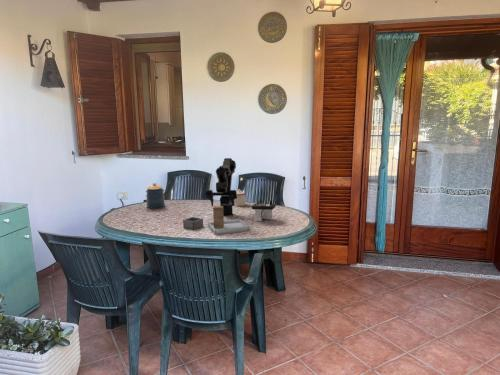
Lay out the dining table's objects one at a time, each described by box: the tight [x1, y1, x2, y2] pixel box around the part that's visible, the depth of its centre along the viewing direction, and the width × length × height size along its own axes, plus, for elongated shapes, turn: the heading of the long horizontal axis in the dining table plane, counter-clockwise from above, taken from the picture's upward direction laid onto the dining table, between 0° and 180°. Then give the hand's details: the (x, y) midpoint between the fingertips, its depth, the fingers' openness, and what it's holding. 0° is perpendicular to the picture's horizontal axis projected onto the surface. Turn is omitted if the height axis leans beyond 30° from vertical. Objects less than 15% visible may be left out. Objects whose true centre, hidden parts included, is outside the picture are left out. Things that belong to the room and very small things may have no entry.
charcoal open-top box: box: [182, 216, 204, 230], centre depth 227 cm, size 8×8×4 cm
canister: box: [145, 182, 166, 209], centre depth 280 cm, size 13×13×18 cm
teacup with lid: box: [233, 188, 246, 207], centre depth 282 cm, size 12×9×12 cm
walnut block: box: [212, 205, 225, 228], centre depth 222 cm, size 5×5×12 cm
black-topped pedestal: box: [251, 199, 277, 222], centre depth 239 cm, size 28×26×13 cm
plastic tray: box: [207, 218, 250, 236], centre depth 222 cm, size 20×17×2 cm
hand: (219, 206), depth 226 cm, fingers open, 9 cm apart
